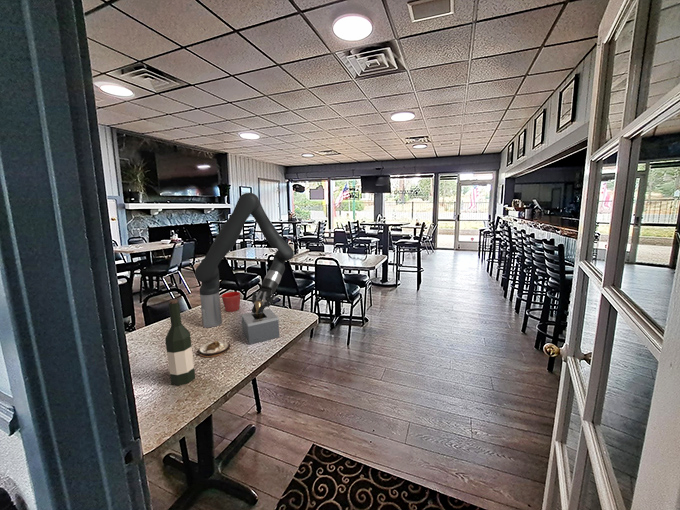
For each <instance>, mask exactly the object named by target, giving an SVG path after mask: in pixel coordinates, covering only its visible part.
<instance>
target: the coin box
mask: <svg viewBox="0 0 680 510" xmlns="http://www.w3.org/2000/svg"><path fill="white" fill-rule="evenodd" d="M262 314H263V318H262V319H257V320H256V313H252V311H250V312H246V313H241V314H240V320H241V329H242V330H241V331H242V335H243V336H244V338H245V340H246V342H247V344H248V345H249V346H251V345H257V344H260V343H263V341H264V342H268V341H271V340H270V339H272V340H276V339H279V337H280V326H279V325H280V322H279V317H278V315H277V314H275V312H273V310H272V309H270V308H267V309H266V308H264V310H263V313H262ZM275 338H276V339H275ZM267 340H268V341H267ZM259 342H260V343H259Z"/></svg>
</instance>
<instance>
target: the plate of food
mask: <svg viewBox="0 0 680 510" xmlns="http://www.w3.org/2000/svg"><path fill="white" fill-rule="evenodd" d="M229 350H230V351H231V350H232V348H231V344H230V343H229V342H227V341H225V340H220V339H218V340H211V341H208V342H207V343H204V344H203V345H201V346H200V347H199V349H198V354H199V355H200V356H201V357H203V358H208V359H212V358H216V357H219V356H222V355H224V354H227V353H228V351H229Z"/></svg>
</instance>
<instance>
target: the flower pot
mask: <svg viewBox="0 0 680 510" xmlns="http://www.w3.org/2000/svg"><path fill="white" fill-rule="evenodd" d="M221 300H222V303H223V307H224V309H225V312H227V313H233V312H236V311H239V310H240V304H241V292H240V291H230V292H225V293H223V294H222V295H221Z"/></svg>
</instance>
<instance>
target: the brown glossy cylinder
mask: <svg viewBox="0 0 680 510" xmlns="http://www.w3.org/2000/svg"><path fill="white" fill-rule="evenodd" d="M261 304H262V301H261V300H256V301H255V309H256V320H257V319H262V318H263V314H261V315H260V314H258V313H257V312H258V310H259V308H260V306H261Z"/></svg>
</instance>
